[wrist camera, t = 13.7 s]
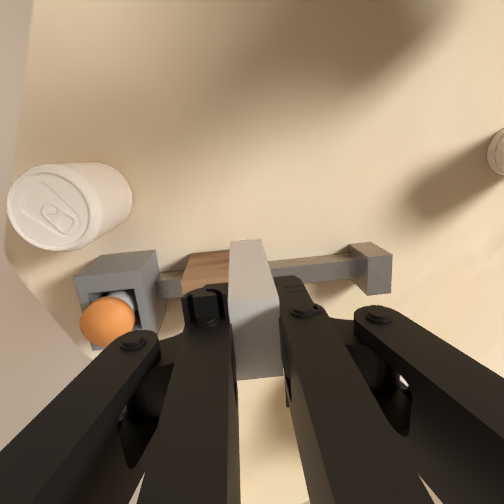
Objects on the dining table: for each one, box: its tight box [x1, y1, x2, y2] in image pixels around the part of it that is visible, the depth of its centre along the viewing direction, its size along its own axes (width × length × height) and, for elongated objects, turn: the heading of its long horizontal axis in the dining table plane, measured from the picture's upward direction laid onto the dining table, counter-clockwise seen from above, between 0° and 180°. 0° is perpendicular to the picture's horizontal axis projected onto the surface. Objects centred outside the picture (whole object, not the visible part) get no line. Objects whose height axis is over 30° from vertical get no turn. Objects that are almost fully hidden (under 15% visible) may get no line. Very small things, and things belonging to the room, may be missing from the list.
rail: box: [155, 242, 392, 299], centre depth 41 cm, size 5×29×6 cm, turn 95°
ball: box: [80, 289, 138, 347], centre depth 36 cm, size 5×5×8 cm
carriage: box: [181, 250, 230, 295], centre depth 39 cm, size 7×6×10 cm
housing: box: [73, 250, 166, 351], centre depth 40 cm, size 9×7×8 cm
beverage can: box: [6, 162, 132, 252], centre depth 34 cm, size 8×8×12 cm
